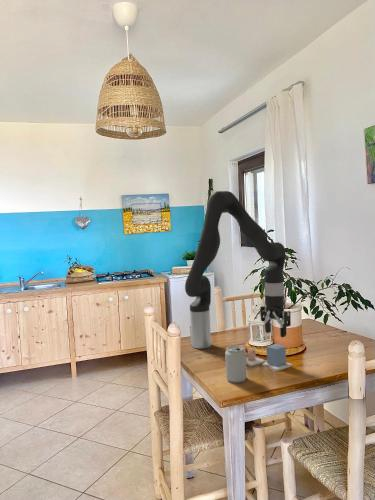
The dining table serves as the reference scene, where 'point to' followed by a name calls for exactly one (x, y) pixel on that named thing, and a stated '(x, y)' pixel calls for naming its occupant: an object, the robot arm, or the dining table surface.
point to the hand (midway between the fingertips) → (275, 334)
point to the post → (277, 367)
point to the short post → (252, 358)
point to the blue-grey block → (276, 355)
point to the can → (235, 364)
